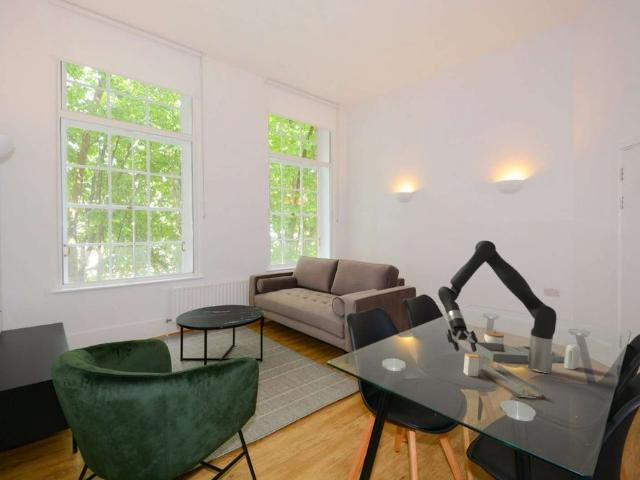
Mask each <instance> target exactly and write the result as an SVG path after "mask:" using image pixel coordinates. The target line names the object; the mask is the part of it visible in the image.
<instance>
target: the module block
mask: <svg viewBox="0 0 640 480" xmlns="http://www.w3.org/2000/svg"><path fill="white" fill-rule="evenodd" d="M463 362H464V363H463V372H462V373H464V374H465V375H466V376H467V377H478V376H479V368H480V367H479V366H480V356H479V355H477V354H476V353H464V361H463Z"/></svg>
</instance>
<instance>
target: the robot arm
mask: <svg viewBox="0 0 640 480" xmlns="http://www.w3.org/2000/svg"><path fill="white" fill-rule="evenodd" d="M474 248H475V249H474V250H475V251H474V253H473V255H472V256H471V257H470V258H469V259H468V261H467V262H466V263H465V264H463V266H462V267H461V268H460V269H459V270H457V272H456V273H455V274H454V275H453V276H452V278H451V279H450V284H451V287H448V286H446V285H445V286H441V287H440V288H439V289H438V290H437V291H438V292H437V294H438V298H439V300H440V303H441V304H442V306H443V307H444V310H445V313H446V316H447V320H448V324H449V327H450V329H447V331H446V332H445V333H446V338H447V341H448V343H451V344H452V345H453V348H454V350H455V351H456V352H459V351H460V346H459V343H458V341H465V342H466V343H468V344H469V345H470V348H471V350H472V353H476V352H477V351H476V350H477V348H476V346H475V344H476V343H477V342H479V341H478V338H477V336H476V333H475V331H474V330H472V331H468V329H467V324H466V321H465V318H464V317H463V316H464V315H463V314H462V312H461V309H460V307H459V304H458V303H457V302H456V301H457V299H458V298H459V296H460V294H461V292H462V289H463V288H464V287H465V285H466V284H467V283H468V281H470V279H471V278H472V276H473V275H474V274H475V273H476V272H477V270H478V269H479V268H480V267H482V266H483V264H484V263H486V264H487V265H488V266H489V267H490V268H491V269H492V271H493V272H494V273H495V275H496V276H497V277H498V279H499V280H500V281H501V282H502V284H503V285H504V286H505V287H506V288H507V289H508V290H509V292H511V293H512V294H513V295H514V296H515V297H516V298H517V299H518V300H519V301H520V302H521V303H522V304H523V305H524V307H525V308H526V309H527V311H528V312H529V314H530V315H531V317H532V318H533V319H534V321H533V327H532V328H531V329H530V337H529V339H530V340H529V346H530V349H529V356H528V363H527V369H529V368H530V369H537V370H539V371H542V372H546V373H548V374H551V373H552V371H553V369H552V368H553V362H552V361H553V354H552V353H551V351H553V339H554V338H553V337H554V335H555V334H556V333H555V332H556V327H557V326H556V325H557V317H558V316H557V313H556V310H555V309H554V308H552V306H551V307H550V306H549V305H547V304H546V303H544V302H543V301H542V300H541V299H540V298H539V297H538V296H537V295H536V294H535V293H534V291H533V290H532V288H531V287H530V285H529V283H528V282H527V280H526V279H525V278H524V277H523V276H522V274H521V273H520V272H519V271H518V270H516V268H514V267H513V266H512V264H510V263H509V262H507V261H506V260H505V259H504V258H503V257H502V256H501V255H500V254H499V253H498V251H497V247H496V245H495V243H494V242H492V241H490V240H480V241H479V242H477V244H476V245H475V247H474ZM452 335H453V336H454V337H453V336H452ZM530 369H529V370H530Z"/></svg>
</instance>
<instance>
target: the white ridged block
mask: <svg viewBox="0 0 640 480" xmlns="http://www.w3.org/2000/svg"><path fill="white" fill-rule="evenodd" d="M580 354H581V347H580V346H579V345H577V344H575V343H574V344H573V343H571V344H569V345H567V346H566V347H565V349H564V356H565V359H564V362H563V367H564V369H566V370H575V369H578V368H579V367H580V356H581V355H580Z"/></svg>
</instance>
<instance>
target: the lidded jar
mask: <svg viewBox="0 0 640 480" xmlns="http://www.w3.org/2000/svg"><path fill="white" fill-rule="evenodd" d="M483 336H484V337H483V338H484V342H488V343H504V342H503V341H504V337H505V335H504V333H501V332H498V331H496V330H485V331H484V335H483Z"/></svg>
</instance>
